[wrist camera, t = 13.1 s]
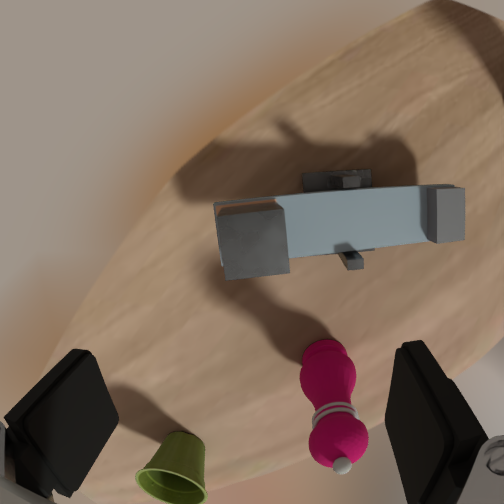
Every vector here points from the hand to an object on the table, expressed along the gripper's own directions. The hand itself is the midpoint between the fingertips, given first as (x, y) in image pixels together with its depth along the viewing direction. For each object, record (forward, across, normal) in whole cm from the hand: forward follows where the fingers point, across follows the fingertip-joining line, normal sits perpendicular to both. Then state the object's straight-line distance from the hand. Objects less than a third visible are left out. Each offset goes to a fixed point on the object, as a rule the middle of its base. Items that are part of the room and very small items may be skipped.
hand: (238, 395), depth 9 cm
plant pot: (+30, +18, +38) cm, 52 cm away
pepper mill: (+31, -6, +19) cm, 37 cm away
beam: (+24, -8, 0) cm, 26 cm away
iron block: (+22, +2, -1) cm, 22 cm away
